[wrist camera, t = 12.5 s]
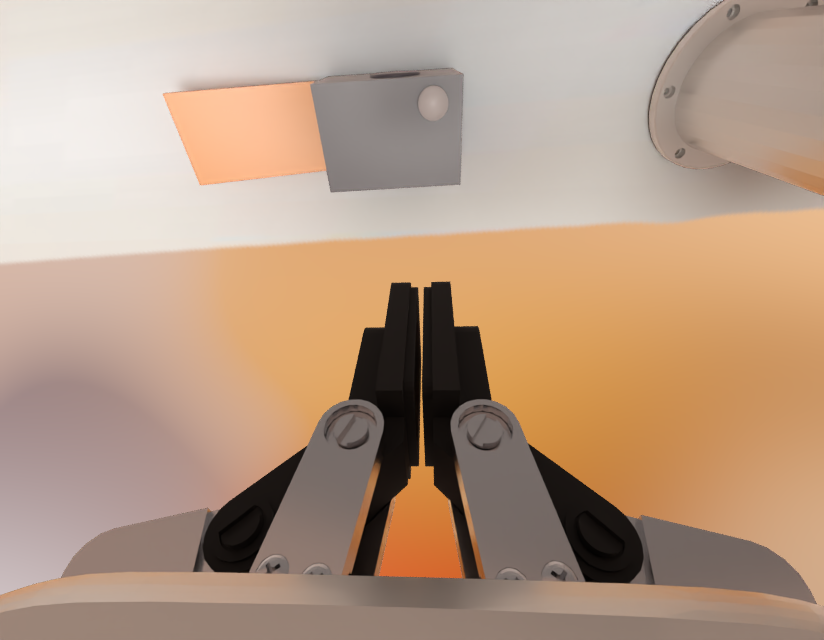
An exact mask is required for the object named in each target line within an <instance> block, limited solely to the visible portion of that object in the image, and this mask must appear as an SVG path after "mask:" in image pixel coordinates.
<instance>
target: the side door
mask: <svg viewBox="0 0 824 640" xmlns="http://www.w3.org/2000/svg"><path fill="white" fill-rule="evenodd" d="M314 82H316V81H307V82H295V83H282V84H270V85H258V86H245V87H233V88H221V89H208V90H196V91H184V92H171V93H164V94H163V96H164V98H165V101H166V103H167V106H168V108H169V111H170V113H171V116H172V118H173V120H174V123H175V125H176V128H177V130H178V133H179V135H180V137H181V140H182V142H183V145H184V147H185V150H186V152H187V154H188V157H189V159H190V162H191V164H192V167H193V169H194V172H195V174H196V176H197V179H198V181H199V184H200V185H207V184H216V183H224V182H233V181H242V180H250V179H259V178H267V177H276V176H284V175H293V174H301V173H310V172H319V171H327V170H326V165H325V159H324V154H323V149H322V144H321V139H320V133H319V128H318V123H317V118H316V113H315V107H314V102H313V97H312V92H311V87H310V84H312V83H314Z"/></svg>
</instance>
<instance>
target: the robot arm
mask: <svg viewBox="0 0 824 640" xmlns="http://www.w3.org/2000/svg"><path fill="white" fill-rule="evenodd" d="M727 12H728V13H727ZM665 90H666V91H665ZM664 91H665V93H664ZM649 128H650V133H651V138H652V140H653V142H654V144H655V147H656V149H657V150H658V151H659V152H660V153H661V154H662V156H663V157H664V158H666V159H668V160H669V161H671V162H673V163H674V164H677V165H680V166H682V167H685V168H691V169H709V168H714V167H718V166H722V165H725V164H728V163H730V162H733V163H736V164H738V165H741V166H744V167H746V168H749V169H752V170H755V171H757V172H760V173H763V174H766V175H768V176H771V177H774V178H777V179H779V180H782V181H785V182H787V183H790V184H793V185H796V186H798V187H801V188H804V189H807V190H809V191H812V192H815V193H818V194H820V195H823V196H824V0H725V1H723V2H722V3H721V4H719V5H718V6H716V7H715V8H713V9H712V10H711V11H709V12H708V13H707V14H706V15H705V16H704V17H703V18H702V19H701V20H700V21H698V22H697V23H696V24H695V25H694V26H693V27H692V28H691V30H690V31H689V32H688V33H687V34H686V35H685V37H684V38H683V39H682V40H681V41H680V42H679V44H678V45H677V47H676V48H675V50H674V51H673V53H672V54H671V56H670V57H669V59H668V60H667V62H666V64H665V66H664V68H663V70H662V72H661V74H660V76H659V78H658V80H657V83H656V86H655V89H654V92H653V95H652V100H651V105H650V110H649ZM423 311H424V313H423V366H422V368H423V369H422V399H423V423H424V445H425V466H434V485H435V486H436V487H437V488H438V489H439V490H440V491H441V492H442V493H443V494H444V495H445V496H446V497H447V498H448V504H449V510H450V515H451V520H452V526H453V531H454V536H455V541H456V547H457V552H458V557H459V562H460V567H461V572H462V578H463V579H462V578H426V577H389V576H388V577H387V576H379V573H380V568H381V564H382V560H383V555H384V550H385V546H386V541H387V537H388V532H389V528H390V522H391V518H392V513H393V509H394V504H395V496H396V495H397V494H398V493H399V492H400V491H401V490H402V489H403V488H405V487H406V486H407V484H408V479H410V478H411V466H419V437H420V435H419V433H420V390H421V346H420V321H419V297H418V288H417V287H411V283H392V284H391V289H390V296H389V303H388V309H387V316H386V322H385V328H365V330H364V333H363V337H362V342H361V346H360V351H359V355H358V360H357V364H356V369H355V374H354V378H353V383H352V387H351V392H350V396H349V400H347V401H343V402H340V403H338V404H336V405H334V406H332V407H331V408H330V409H329V410H327V411H326V412H325V413H324V414H323V416H322V418H321V419H320V420H319V422H318V424H317V426H316V429H315V431H314V433H313V435H312V437H311V439H310V442H309V444H308V446H306V447H305V448H303V449H302V450H301V451H299V452H298V453H296V454H295V455H293V456H292V457H291V458H289V459H288V460H286V461H285V462H284V463H282V464H281V465H279V466H278V467H277V468H275V469H274V470H272V471H271V472H270V473H268V474H267V475H266V476H264V477H263V478H261V479H260V480H259V481H257V482H256V483H254V484H253V485H251V486H250V487H249V488H247V489H246V490H244V491H243V492H242V493H240V494H239V495H237V496H236V497H235V498H233V499H232V500H230V501H229V502H228V503H227V504H226V505H225V506H223V507H222V508H221V509H220V510H216V511H210V510H209V508H205V509H200V510H196V511H191V512H187V513H182V514H178V515H173V516H169V517H164V518H160V519H155V520H151V521H146V522H142V523H137V524H132V525H128V526H123V527H119V528H114V529H112V530H109V531H107V532H104V533H101V534H100V535H98V536H97V537H95V538H94V539H92V540H91V541H89V542H88V543H87V544H86V545H84V547H82V548H81V549H80V550H79V552H77V553H76V555H75V556H74V557H73V558H72V560H71V561H70V563H69V564H68V566H67V568H66V569H65V571H64V572H63V575H62V577H61V578H58V579H54V580H49V581H45V582H41V583H36V584H33V585H30V586H27V587H23V588H20V589H17V590H14V591H11V592H8V593H5V594H2V595H0V640H824V606H820V605H817V603H816V601H815V599H814V597H813V595H812V593H811V591H810V589H809V588H808V586H807V585H806V583H805V582H804V580H803V579H802V577H801V576H800V575H799V573H798V572H797V571H796V570H795V569H794V568H793V567H792V566H791V565H790V564H789V563H787V561H786V560H785V559H783V558H782V557H780V556H779V555H777V554H776V553H774V552H773V551H771V550H770V549H768V548H767V547H764V546H761V545H759V544H756V543H754V542H751V541H747V540H743V539H739V538H735V537H731V536H727V535H723V534H718V533H714V532H710V531H706V530H702V529H698V528H693V527H689V526H685V525H681V524H677V523H673V522H669V521H664V520H660V519H656V518H652V517H648V516H644V515H641V516H640V517H639V518H638V519H637V518H633V517H628V516H625V515H624V514H623V513H622V512H621V511H620V510H618V509H617V508H616V507H615V506H614V505H612V504H611V503H609V502H608V501H607V500H605V499H604V498H603V497H601V496H600V495H598V494H597V493H596V492H594V491H593V490H591V489H590V488H589V487H587V486H586V485H584V484H583V483H582V482H580V481H579V480H578V479H576V478H575V477H573V476H572V475H571V474H569V473H568V472H567V471H565V470H564V469H562V468H561V467H560V466H558V465H557V464H556V463H554V462H553V461H551V460H550V459H549V458H547V457H546V456H545V455H543V454H542V453H540V452H539V451H538V450H536V449H535V448H534V447H532V446H531V445H529V444H528V443H527V440H526V438H525V436H524V433H523V431H522V429H521V426H520V424H519V422H518V420H517V419H516V417H515V415H514V414H513V413H512V412H511V411H510V410H509V409H508V408H507V407H505V406H503V405H501V404H499V403H498V402H495V401H492V400H491V394H490V389H489V383H488V377H487V371H486V366H485V360H484V354H483V349H482V343H481V338H480V332H479V328H478V326H470V327H469V326H463V327H454V318H453V307H452V297H451V285H450V282H431V287H424V309H423Z"/></svg>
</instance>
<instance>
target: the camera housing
mask: <svg viewBox="0 0 824 640" xmlns="http://www.w3.org/2000/svg"><path fill="white" fill-rule="evenodd" d="M310 87H311V92H312V97H313V102H314V107H315V113H316V118H317V123H318V128H319V133H320V139H321V144H322V149H323V154H324V159H325V165H326V170H327V175H328V180H329V185H330V191H331V192H344V191H361V190H377V189H394V188H410V187H427V186H443V185H460V176H461V141H462V105H463V74H462V73H460V72H459V71H457V70H455V69H453V68H446V69H431V70H416V71H392V72H381V73H372V74H357V75H342V76H328V77H326V78H323V79H321V80H319V81H316V82H314V83H312V84H310Z"/></svg>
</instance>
